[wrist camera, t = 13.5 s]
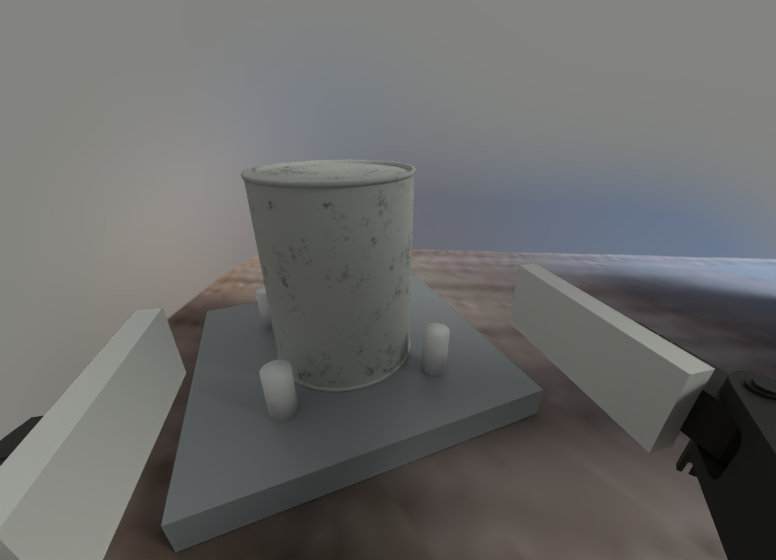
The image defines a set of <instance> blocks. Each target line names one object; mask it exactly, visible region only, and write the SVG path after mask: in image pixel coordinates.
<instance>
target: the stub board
mask: <svg viewBox="0 0 776 560" xmlns="http://www.w3.org/2000/svg"><path fill="white" fill-rule="evenodd" d="M255 293H256V297H257V302H254V303H248V304H242V305H237V306H231V307H225V308H220V309H214V310H208V311H207V314H206V318H205V323H204V328H203V332H202V337H201V342H200V346H199V351H198V356H197V360H196V365H195V370H194V374H193V379H192V384H191V388H190V393H189V398H188V402H187V407H186V411H185V416H184V421H183V425H182V430H181V435H180V439H179V444H178V449H177V453H176V458H175V463H174V467H173V472H172V477H171V481H170V486H169V491H168V495H167V500H166V505H165V509H164V514H163V519H162V523H161V528H162V529H163V531H164V533H165V535H166V537H167V538H168V540H169V542H170V544H171V546H172V547H173V549H174V551H175V553H176V552H178V551H181V550H184V549H186V548H189V547H191V546H194V545H197V544H199V543H202V542H204V541H207V540H210V539H212V538H215V537H217V536H220V535H223V534H225V533H228V532H230V531H233V530H236V529H238V528H241V527H243V526H246V525H248V524H251V523H254V522H256V521H259V520H261V519H264V518H267V517H269V516H272V515H274V514H277V513H280V512H282V511H285V510H287V509H290V508H293V507H295V506H298V505H300V504H303V503H306V502H308V501H311V500H313V499H316V498H319V497H321V496H324V495H326V494H329V493H332V492H334V491H337V490H339V489H342V488H345V487H347V486H350V485H352V484H355V483H358V482H360V481H363V480H365V479H368V478H371V477H373V476H376V475H378V474H381V473H384V472H386V471H389V470H391V469H394V468H397V467H399V466H402V465H404V464H407V463H410V462H412V461H415V460H417V459H420V458H423V457H425V456H428V455H430V454H433V453H436V452H438V451H441V450H443V449H446V448H449V447H451V446H454V445H456V444H459V443H462V442H464V441H467V440H469V439H472V438H475V437H477V436H480V435H482V434H485V433H488V432H490V431H493V430H495V429H498V428H501V427H503V426H506V425H508V424H511V423H514V422H516V421H519V420H521V419H524V418H527V417H529V416H532V415H534V414H537V412H538V408H539V405H540V401H541V397H542V394H543V389H542V388H541V387H540V386H539V385H538V384H537V383H536V382H534V381H533V380H532V379H531V378H530V377H529V376H528V375H527V374H526V373H524V372H523V371H522V370H521V369H520V368H519V367H518V366H517V365H515V364H514V363H513V362H512V361H511V360H510V359H509V358H508V357H507V356H505V355H504V354H503V353H502V352H501V351H500V350H499V349H498V348H497V347H495V346H494V345H493V344H492V343H491V342H490V341H489V340H488V339H487V338H485V337H484V336H483V335H482V334H481V333H480V332H479V331H478V330H476V329H475V328H474V327H473V326H472V325H471V324H470V323H469V322H468V321H466V320H465V319H464V318H463V317H462V316H461V315H460V314H459V313H458V312H456V311H455V310H454V309H453V308H452V307H451V306H450V305H449V304H447V303H446V302H445V301H444V300H443V299H442V298H441V297H440V296H439V295H437V294H436V293H435V292H434V291H433V290H432V289H431V288H430V287H429V286H427V285H426V284H425V283H424V282H423V281H422V280H421V279H420V278H419V277H417V276H416V275H415V274H412V275H411V300H410V342H411V346H410V352H409V355H408V357H407V359H406V361H405V363H404V364H403V366H402V367H401V368H400V369H399V370H398V371H397V372H396V373H395V374H393V375H392V376H390V377H389V378H387V379H385V380H384V381H382V382H380V383H377V384H375V385H372V386H370V387H367V388H364V389H359V390H354V391H350V392H325V391H317V390H313V389H310V388H307V387H304V386H301V385H299V384H297V383H296V382H294V379H293V373H292V367H291V364H290V363H289V362H288V361H286V360H278V351H277V345H276V340H275V335H274V330H273V325H272V320H271V315H270V310H269V305H268V300H267V294H266V289H265V287H261V288H259V289H257V290H256V292H255Z"/></svg>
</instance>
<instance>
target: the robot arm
mask: <svg viewBox="0 0 776 560" xmlns="http://www.w3.org/2000/svg"><path fill="white" fill-rule="evenodd" d="M509 322H510V323H511V324H512V325H513V326H514V327H515V328H516V329H517V330H518V331H519V332H520V333H522V334H523V335H524V336H525V337H526V338H527V339H528V340H529V341H530V342H531V343H532V344H533V345H534V346H535V347H536V348H538V349H539V350H540V351H541V352H542V353H543V354H544V355H545V356H546V357H547V358H548V359H549V360H550V361H551V362H552V363H554V364H555V365H556V366H557V367H558V368H559V369H560V370H561V371H562V372H563V373H564V374H565V375H566V376H567V377H568V378H570V379H571V380H572V381H573V382H574V383H575V384H576V385H577V386H578V387H579V388H580V389H581V390H582V391H583V392H584V393H586V394H587V395H588V396H589V397H590V398H591V399H592V400H593V401H594V402H595V403H596V404H597V405H598V406H599V407H600V408H602V409H603V410H604V411H605V412H606V413H607V414H608V415H609V416H610V417H611V418H612V419H613V420H614V421H615V422H616V423H618V424H619V425H620V426H621V427H622V428H623V429H624V430H625V431H626V432H627V433H628V434H629V435H630V436H631V437H632V438H634V439H635V440H636V441H637V442H638V443H639V444H640V445H641V446H642V447H643V448H644V449H645V450H646V451H647V452H648V453H652V452H655V451H659V450H662V449H666V448H669V447H671V446H672V445H673V443H674V441H675V439H676V438H677V436H678V434H679V432H680V431H682V432H683V433H684V434H685V435H687V436H688V437H689V438H690V441H689V443H688V445H687V446H686V448H685V450H684V451H683V453H682V455H681V456H680V458H679V460H678V462H677V463H676V468H677V470H678V471H681V472H682V470H683V469H684V467H685V466H686V464H687V462H689V463H692V465H693V467H692V468H691V470H690V472H689V474H690V475H693V476H696V477H697V478H698V481H699V483H700V486H701V489H702V492H703V494H704V497H705V500H706V502H707V505H708V508H709V510H710V513H711V516H712V518H713V521H714V524H715V526H716V529H717V532H718V534H719V537H720V540H721V542H722V545H723V548H724V551H725V553H726V556H727V559H728V560H776V381H775V380H773V379H770V378H768V377H765V376H762V375H758V374H755V373H751V372H743V371H737V372H731V373H730V374H727V373H725V372H723V371H722V370H720V369H718V368H716V367H715V366H713V365H711V364H710V363H708V362H706V361H704V360H703V359H701V358H699V357H697V356H696V355H694V354H692V353H691V352H689V351H687V350H685V349H684V348H682V347H680V346H679V345H677V344H675V343H671V342H670V340H668V339H667V338H665V337H663V336H661V335H657V333H656V332H655V331H653V330H651V329H649V328H648V327H646V326H644V325H643V324H641V323H638V322H636V321H633V320H631V319H629V318H628V317H626V316H624V315H622V314H621V313H619V312H617V311H616V310H614V309H612V308H611V307H609V306H607V305H605V304H604V303H602V302H600V301H599V300H597V299H595V298H594V297H592V296H590V295H588V294H587V293H585V292H583V291H582V290H580V289H578V288H577V287H575V286H573V285H571V284H570V283H568V282H566V281H565V280H563V279H561V278H559V277H558V276H556V275H554V274H553V273H551V272H549V271H548V270H546V269H544V268H542V267H541V266H539V265H537V264H536V263H535V264H527V265H519V270H518V276H517V281H516V286H515V292H514V297H513V303H512V308H511V313H510V319H509ZM185 375H186V371H185V368H184V365H183V362H182V360H181V357H180V354H179V351H178V349H177V346H176V343H175V340H174V338H173V335H172V332H171V329H170V327H169V324H168V321H167V318H166V316H165V313H164V310H163V308H162V307H160V308H151V309H143V310H135V312H134V313H133V314H132V315H131V316H130V317H129V318H128V320H127V321H126V322H125V323H124V324H123V325H122V327H121V328H120V329H119V330H118V331H117V332H116V334H115V335H114V336H113V337H112V338H111V339H110V340H109V342H108V343H107V344H106V345H105V346H104V347H103V348H102V350H101V351H100V352H99V353H98V354H97V355H96V357H95V358H94V359H93V360H92V361H91V362H90V363H89V365H88V366H87V367H86V368H85V369H84V370H83V372H82V373H81V374H80V375H79V376H78V377H77V378H76V380H75V381H74V382H73V383H72V384H71V385H70V386H69V388H68V389H67V390H66V391H65V392H64V393H63V395H62V396H61V397H60V398H59V399H58V400H57V402H56V403H55V404H54V405H53V406H52V407H51V408H50V409H49V411H48V412H47V413H46V414H45V415H44V416H38V417H33V418H30V419H29V420H28V421H26V422H25V423H24V424H22V425H21V426H19V427H18V428H17V429H15V430H14V431H12V432H11V433H10V434H9V435H7V436H6V437H4V438H3V439H2V440H1V441H0V560H103V558H104V556H105V554H106V552H107V550H108V547H109V545H110V543H111V541H112V538H113V536H114V534H115V532H116V529H117V527H118V525H119V523H120V520H121V518H122V516H123V514H124V511H125V509H126V507H127V505H128V502H129V500H130V498H131V496H132V493H133V491H134V489H135V487H136V485H137V482H138V480H139V478H140V476H141V473H142V471H143V469H144V467H145V464H146V462H147V460H148V458H149V455H150V453H151V451H152V449H153V446H154V444H155V442H156V440H157V437H158V435H159V433H160V431H161V429H162V426H163V424H164V422H165V420H166V417H167V415H168V413H169V411H170V408H171V406H172V404H173V402H174V399H175V397H176V395H177V393H178V390H179V388H180V386H181V384H182V381H183V379H184V377H185Z"/></svg>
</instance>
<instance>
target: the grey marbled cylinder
mask: <svg viewBox="0 0 776 560" xmlns="http://www.w3.org/2000/svg"><path fill="white" fill-rule="evenodd" d="M415 172H416V169H415V168H414V167H413V166H411V165H408V164H404V163H398V162H390V161H377V160H315V161H300V162H287V163H279V164H270V165H265V166H259V167H254V168H250V169H247V170H245V171H243V172H242V173H241V177H242V179H243V180H244V182H245V187H246V192H247V197H248V203H249V208H250V213H251V218H252V223H253V228H254V233H255V238H256V243H257V248H258V254H259V259H260V264H261V269H262V274H263V279H264V284H265V289H266V294H267V300H268V305H269V310H270V315H271V320H272V325H273V330H274V335H275V340H276V345H277V351H278V360H286V361H288V362H289V363H290V364H291V367H292V373H293V379H294V382H296V383H297V384H299V385H301V386H304V387H307V388H310V389H313V390H317V391H325V392H350V391H354V390H359V389H364V388H367V387H370V386H372V385H375V384H377V383H380V382H382V381H384V380H385V379H387V378H389V377H390V376H392V375H393V374H395V373H396V372H397V371H398V370H399V369H400V368H401V367H402V366H403V364H404V363H405V361H406V359H407V357H408V355H409V352H410V346H411V342H410V300H411V262H412V223H413V185H414V174H415Z"/></svg>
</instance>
